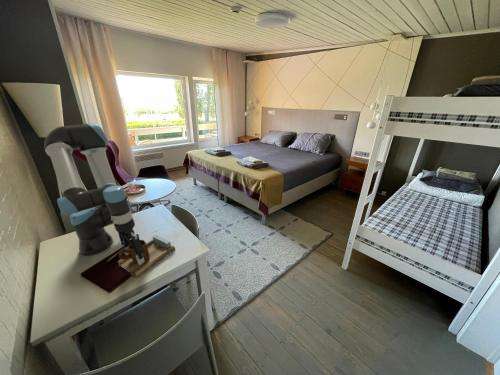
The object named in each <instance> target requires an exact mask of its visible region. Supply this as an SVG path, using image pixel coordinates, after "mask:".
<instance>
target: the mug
mask: <svg viewBox="0 0 500 375" xmlns="http://www.w3.org/2000/svg"><path fill="white" fill-rule="evenodd" d="M140 242H141V244H142V247H143V249H144V252H143V253H142V254H143V258H144V261H145V262H147V261H148V260H149V257H150V255H149V252H148V248H147V245H146V243H147V242H146V241H145V240H144V239H140ZM128 248H129V249H128V250H126V249H123V250H121V251H120V252H119V253H118V257H119V259H120V260H121V259H132V261H133V263H134V264H136V265H139V264H138V261H137V258H136V256H135V254H136V253H135V251H134V249H133V247H132V245H131V244H130V245H129V247H128ZM127 253H130V255H123V254H127ZM145 262H144V263H145ZM142 264H143V263H142Z"/></svg>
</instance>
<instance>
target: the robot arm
mask: <svg viewBox="0 0 500 375" xmlns="http://www.w3.org/2000/svg"><path fill="white" fill-rule="evenodd" d="M43 145H44V146H43V148H44V151H45V153H46V155H47V156H49V157H50V160H51V162H52V163H51V164H52V165H53V166H52V167H53V169H54V172H55V175H56V178H57V182H58V185H59V188H60V191H61V193H62V194H61V195H62V196H61V197H59V198H57V200H56V201H57V205H58V209H59V210H60V212H61V213H62V214H63V215H65V216H66V215H69V220H70V223H71V226H72V228H73V229H74V231H75V234H76V236H77V238H78V250H79V252H80V254H81V255H83V256H93V255H96V254H99V253H103V252H104V251H105V250H107V249H109V248H110V247H111V246H112V244H113V242H114V238H113V237H112V235H110V234H109V232H107V230H106V229H105V227H108V226H112V225H114V229H115V231H116V232H117V233H118V237H119V241H120V245H121V246H123V248H124V250H128V249H129V248H128V247H129V245H130V244H131V245H132V247H133V249H134V251H135V253H136V254H135V256H136V258H137V261H138V264H139V265H141V264H142V263H144V262H145V261H144V258H143V254H142V253H143V252H144V249H143V247H142V244H141V242H140V240H141V239H140V235H139V233H136V234H135V230H134V227H135V226H136V223H135V220H134V218H133V212H132V208H131V204H130V201H129V198H128V197H127V193H126V192H125V188H124V187H123V186H122V185H117V183H116V179H115V177H114V174H113V172H112V168H111V166H110V163H109V159H108V157H107V154H106V150H107V149H108V147H107V146H108V145H109V139H108V138H107V136H106V134H105V132H104V129H103V128H102V127H101V125H99V124H97V123H82V124H73V125H61V126H58V127H56V128H53V129H52V130H50V132H49V133H48V134H47V135H46V137H45V140H44V144H43ZM75 150H79V152H80V154H83V155H85V157H86V160H87V163H88V165H89V168H90V171H91V173H92V176H93V179H94V181H95V184H96V187H97V188H94V189H90V190H85V187H84V184H83V181H82V179H81V176H80V173H79V171H78V168H77V165H76V161H75V160H74V157H73V155H72V154H73V151H75ZM126 254H127V255H130V253H126Z"/></svg>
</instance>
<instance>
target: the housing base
mask: <svg viewBox="0 0 500 375" xmlns="http://www.w3.org/2000/svg"><path fill="white" fill-rule="evenodd" d="M145 243H146V245H147V248H148V252H149V255H150V257H149V260H148V261H147V262H145V263H143V264H141V265H136V264H134V263H133V261H132V259H121V258H120V259H119V260H118V261H117V262H118V263H117V265H119V266H118V267H120V266H121V267H122V268H124V269H125V270H127V271H128V272H130V273H131V274H130V273H129V274H130V275H131V276H133V277H134V278H135V279H138V278H140V276H142V275H143V274H144V273H146V272H147V271H148V270H150V269H151V268H152V267H154V266H155V265H157V264H158V263H159V262H161V261H162V260H163V259H164V258H166V257H167V256H169V255H170V254H171V253H173V252H174V251H175V250H176V247H175V246H174V244H171V247H169V248H168V249H166V248H164V247H162V246H160V245H158V244H156V243H154V240H153V238H152V239H151V240H149V241H148V242H145ZM121 267H120V268H121ZM122 268H121V269H122ZM124 269H123V270H124ZM125 270H124V271H125ZM127 271H126V272H127ZM128 272H127V273H128Z"/></svg>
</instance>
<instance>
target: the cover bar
mask: <svg viewBox="0 0 500 375" xmlns="http://www.w3.org/2000/svg"><path fill="white" fill-rule="evenodd" d="M152 239H153V240H154V243H156V244H158V245H160V246H162V247H164V248H166V249H168V248H169V247H171V246H172V244H171V243H172V242H171V240H168V239H166V238H164V237H162V236H159V235H158V234H154V235H153V236H152Z"/></svg>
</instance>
